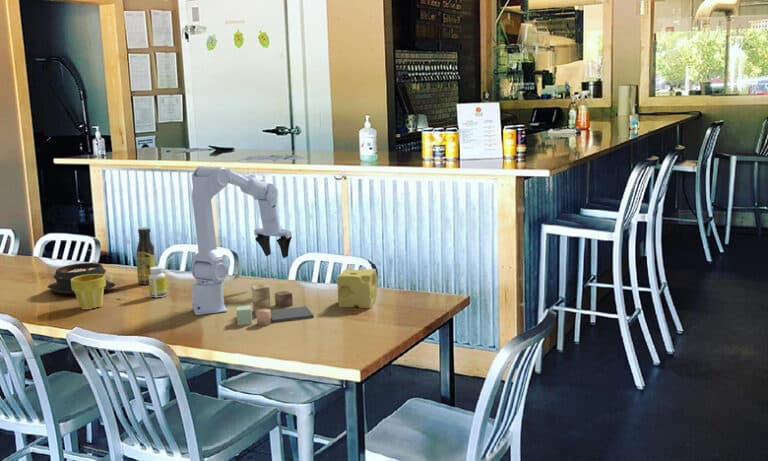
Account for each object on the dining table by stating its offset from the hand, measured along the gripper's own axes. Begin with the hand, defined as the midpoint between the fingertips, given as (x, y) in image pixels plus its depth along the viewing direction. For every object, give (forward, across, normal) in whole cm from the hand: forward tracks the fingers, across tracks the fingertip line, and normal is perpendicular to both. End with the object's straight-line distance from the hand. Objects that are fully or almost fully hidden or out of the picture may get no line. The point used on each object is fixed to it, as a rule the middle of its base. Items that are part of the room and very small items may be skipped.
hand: (276, 256), depth 267 cm
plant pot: (+3, +39, +47) cm, 61 cm away
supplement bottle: (+6, +29, +28) cm, 41 cm away
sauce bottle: (+8, +47, +18) cm, 51 cm away
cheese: (+10, -37, +8) cm, 39 cm away
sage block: (+4, -18, +38) cm, 43 cm away
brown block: (+4, -24, +37) cm, 44 cm away
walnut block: (+8, -17, +19) cm, 27 cm away
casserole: (+5, +60, +35) cm, 70 cm away
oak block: (+6, -16, +28) cm, 32 cm away
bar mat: (+6, -26, +27) cm, 38 cm away
